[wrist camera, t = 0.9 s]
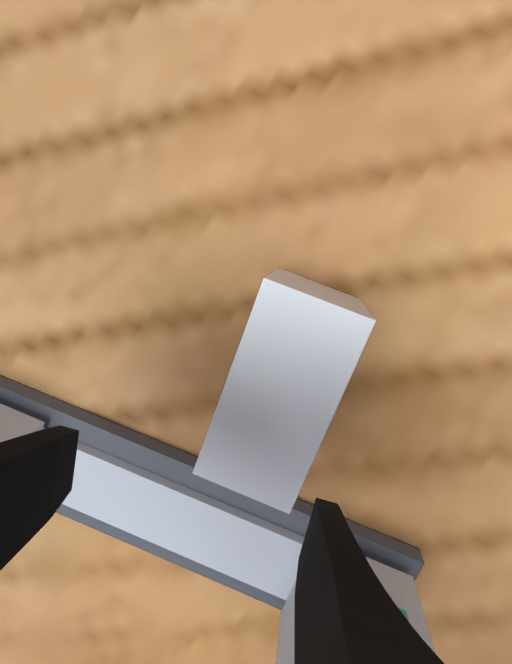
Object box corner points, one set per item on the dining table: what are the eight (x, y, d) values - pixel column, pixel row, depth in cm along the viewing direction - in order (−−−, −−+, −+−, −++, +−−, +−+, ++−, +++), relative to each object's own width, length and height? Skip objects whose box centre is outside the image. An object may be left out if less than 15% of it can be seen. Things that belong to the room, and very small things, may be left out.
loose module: (361, 299, 20) (380, 322, 14) (299, 442, 21) (293, 515, 16) (279, 268, 20) (263, 277, 14) (225, 412, 22) (192, 473, 16)
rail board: (419, 549, 22) (462, 677, 15) (372, 633, 23) (393, 782, 17) (-24, 365, 23) (-154, 411, 17) (-42, 455, 25) (-167, 529, 18)
